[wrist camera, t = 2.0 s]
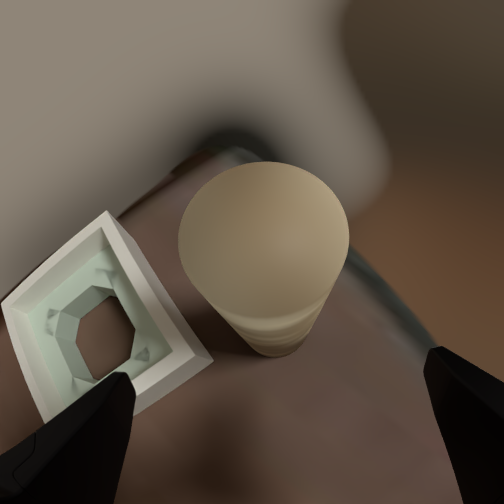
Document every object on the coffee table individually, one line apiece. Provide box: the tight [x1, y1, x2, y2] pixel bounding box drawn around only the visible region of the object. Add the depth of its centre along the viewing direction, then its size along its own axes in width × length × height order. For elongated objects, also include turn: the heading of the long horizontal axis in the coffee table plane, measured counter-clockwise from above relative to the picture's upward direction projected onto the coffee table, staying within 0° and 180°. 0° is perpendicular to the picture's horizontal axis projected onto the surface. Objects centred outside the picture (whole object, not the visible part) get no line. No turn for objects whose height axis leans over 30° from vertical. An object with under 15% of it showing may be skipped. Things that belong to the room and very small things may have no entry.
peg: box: [178, 162, 349, 358], centre depth 13 cm, size 4×4×13 cm
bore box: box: [1, 211, 214, 424], centre depth 18 cm, size 11×11×4 cm
